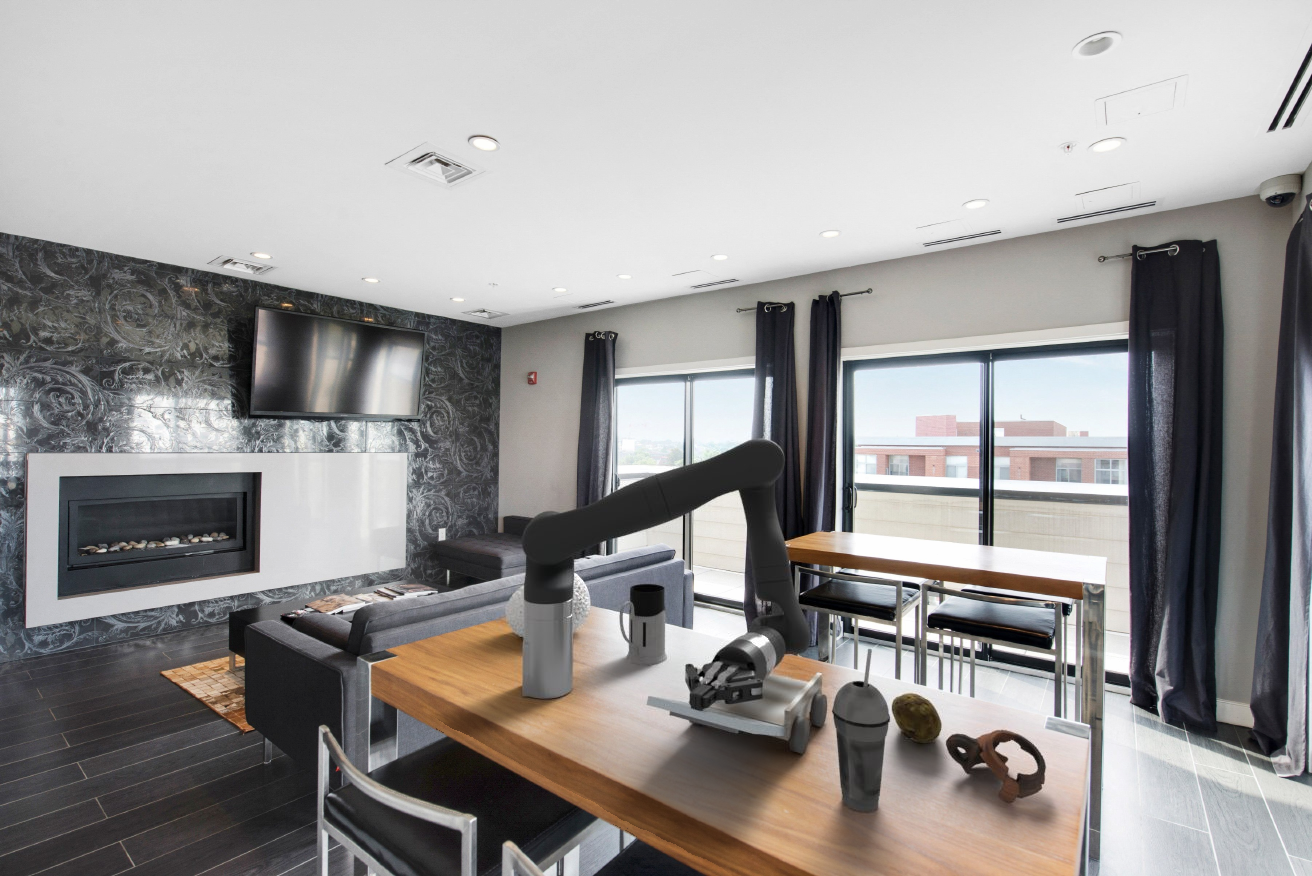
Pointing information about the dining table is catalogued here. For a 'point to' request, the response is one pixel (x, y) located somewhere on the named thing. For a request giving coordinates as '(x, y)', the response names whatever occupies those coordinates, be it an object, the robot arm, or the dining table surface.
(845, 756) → the beverage cup
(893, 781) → the dining table surface
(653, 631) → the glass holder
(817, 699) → the flatbed cart
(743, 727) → the panel
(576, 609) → the cauliflower
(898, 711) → the potato
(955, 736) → the brown curved piece
